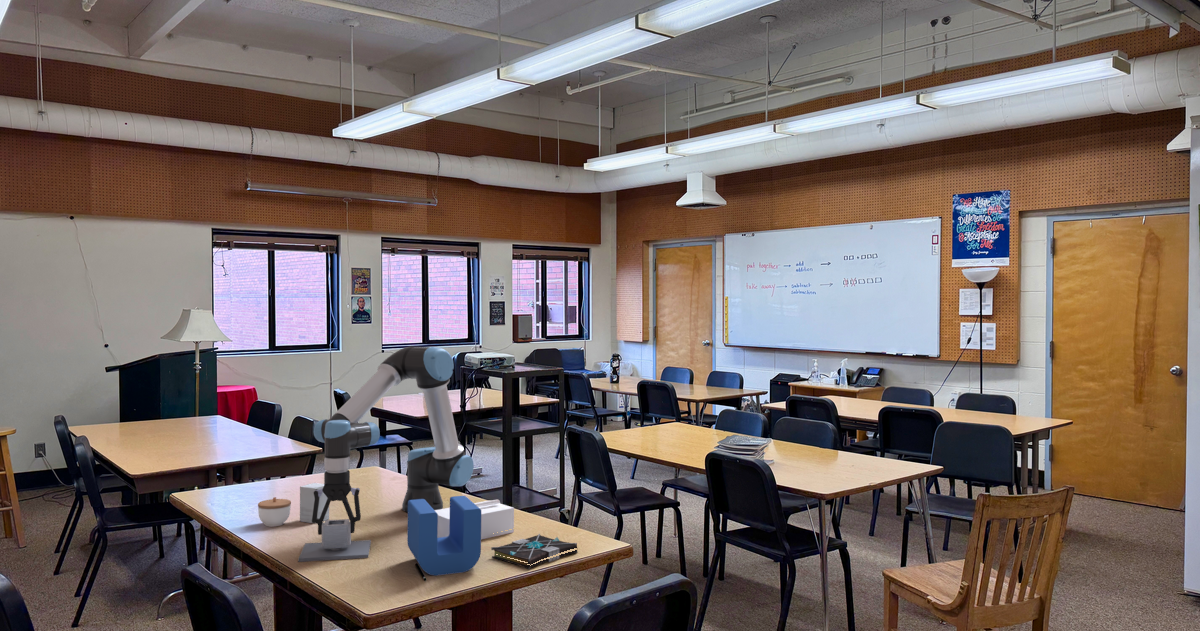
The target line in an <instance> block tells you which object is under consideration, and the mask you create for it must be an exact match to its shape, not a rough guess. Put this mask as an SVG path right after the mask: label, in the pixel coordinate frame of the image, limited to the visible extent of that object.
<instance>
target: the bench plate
mask: <svg viewBox="0 0 1200 631" xmlns="http://www.w3.org/2000/svg"><path fill="white" fill-rule="evenodd" d="M371 544H372V541H371V539H364V540H363V539H361V540H351V544H350V545H348V547H347V548H331V549H323V546H322V541H321V542H305V543H304V546H303V547H302V550H301V551H300V555H299V557H298V558H297V561H298V563H299V562H301V563H302V562H319V561H321V562H322V561H333V560H334V561H336V560H353V559H368V558H369V555H370V549H371Z"/></svg>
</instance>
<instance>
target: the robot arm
mask: <svg viewBox="0 0 1200 631" xmlns="http://www.w3.org/2000/svg"><path fill="white" fill-rule="evenodd" d="M454 369H455V368H454V359H453V358H452V355H451V354H450V353H449V351H448V350H446V349H444V348H442V347H436V346H430V347H429V346H428V347H427V346H406V347H403V348H400V349H399V350H397V351H396V352H394V353H392V354H391V355H389V356H388V357H387V358H385V359H384V360H383V361H382V362H381V363H380V364H379V365H378V367H377V371H376V372H375V373H374V374H373V375H372V376H371V377H370V378H369V379H368V380H367V381H366V382H364V384H363V385H362V386H361V387H360V388H359V389H358V390H357V391H356V392H355V393H354V394H353V395H352V396H351V397H350V398H349V399H348V400H347V401H346V402H345V403H344V404H343V405H342V406H341V407H339V409H338V410H337V411H336V412H335V413H334V414H333V415H332V416H331V417H330V418H329V419H320V420H319V421H317V422H316V424H315V425H314V428H313V436H314V438H315V440H317V441H318V442H321V443H324V461H323V462H324V468H323V469H324V471H325V472H324V475H323V476H324V477H323V481H324V482H323V484H324V487H323V489H319V490H317V489H316V490H315V491H314V497H315V501H314V509H313V516H312V523H311V524H317V535H318V536H321V542H322V546H323V526H324V524H325V522H324V521H323V520H324V517H325V515H326V512H327V510H328V507H329V508H330V504H331V502H336V501H338V502H340V501H341V502H342V504H343V507H344V508H345V511H346V514H347V516H348V519H349V522H348V545H350V544H351V541H352V534H354V533H355V531H356V530H355V528H356V522H359V521H360V520H361V518H362V514H361V506H360V498H359V497H360V496H359V495H360V488H359V487H352V486H351V484H350V482H351V481H350V480H351V479H350V478H351V476H350V474H351V471H350V469H351V468H350V467H351V450H353V449H357V448H363V447H370V446H373V445H375V444H377V443H378V442H379V440H380V437H381V436H380V435H381V434H380V432H381V431H380V428H379V426H378V425H377V424H376V423H374V422H373V421H371V422H370V421H365V422H361V423H360V421H361V420H362V419H363V418H364V417H365V415H366V414H367V413H368V412H369V411H370V410H371V409H372V408H374V406H375V405H377V403H378V402H379V401H380V400H381V399H382V398H383V397H384V396H385V395H386V394H387V392H389V390H390V389H391V388H392V387H394V386H398V385H400V383H402V381H404V380H409V379H411V380H413V379H414V380H415V381H416V386H417V388H418V389H419V390H421V391H422V392H423V398H424V402H425V405H426V411H427V415H428V420H429V425H430V429H431V435H432V438H433V443H434V446H430V447H420V448H415V449H411V450H409V451H408V454H407V460H406V461H407V462H406V463H407V465H406V466H407V467H406V468H407V469H406V470H407V471H406V472H407V473H406V474H407V476H406V478H407V487H406V491H405V494H404V498H403V500H402V505H401V509H402V511H403V512H405V513H408V501H409V500H416V499H425V500H426V502H427V503H428V504H429V505H430V506H431V507H432V508H433V509H434V510H439V509H444V501H443V498H442V495H441V491H440V488H439V485H445V486H450V487H463V486H465V485H466V484H467V483H468V482H469V481H470V480H471V478H472V475H473V472H474V466H475V465H474V458H473V457H472V456H470V455H468V454H466V452H465V449H464V446H463V445H462V444H460V443H459V439H458V434H457V430H456V425H455V420H454V415H453V410H452V405H451V401H450V397H449V396H450V395H449V390H448V386H447V385H448V384H449V383H450V380H451V379H450V378H451V377H452V375H453V373H454V371H453V370H454ZM350 492H351V495H352V496H353V500H354V502H353V503H354V510H355V516H354V513H353V510H352V507H351V505H350V502H349V500H348V495H349V494H350ZM322 493H324V494H325V495H326V497H327V498H328V499H327V501H326V504H325V506H324V509H323V511H322V514H321V516H320V519H318V518H317V514H318V507H319V499H320V496H321V495H322Z"/></svg>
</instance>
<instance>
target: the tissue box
mask: <svg viewBox="0 0 1200 631" xmlns="http://www.w3.org/2000/svg"><path fill="white" fill-rule="evenodd" d="M473 503H474V504H475V505H476V506H477V507H479V508H480V509H481V540H484V539H489V538H493V537H499V536H503V535H507V534H512V533H514V532H515V531H514V530H515V507H513V506H509V505H507V504H503V503H501V501H500V500H499V499H493V500H485V501H477V502H473ZM435 512H436V513H437V514H438V536H437V538H440V537H447V536H449V525H450V507H445V508H443V509H439V510H435ZM513 528H514V529H513ZM509 529H512V530H509ZM505 530H508V531H505ZM501 531H503V532H501ZM497 532H498V533H497ZM493 533H494V534H493Z"/></svg>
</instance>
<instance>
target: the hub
mask: <svg viewBox="0 0 1200 631" xmlns="http://www.w3.org/2000/svg"><path fill="white" fill-rule="evenodd" d="M348 522H350V520H349V518H347V519H346V518H345V519H328V520H325V521H324V523H325V524H324V526H323V549H331V548H347V547H348Z"/></svg>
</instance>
